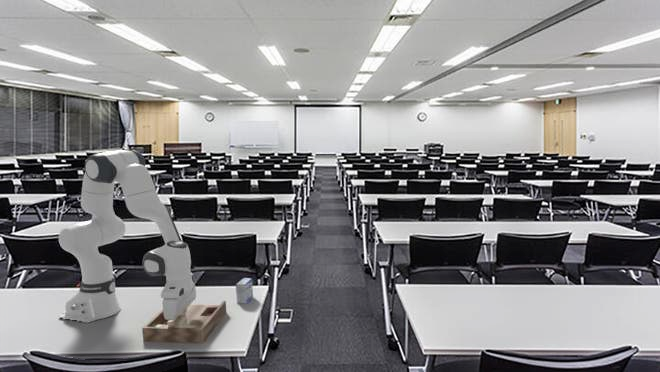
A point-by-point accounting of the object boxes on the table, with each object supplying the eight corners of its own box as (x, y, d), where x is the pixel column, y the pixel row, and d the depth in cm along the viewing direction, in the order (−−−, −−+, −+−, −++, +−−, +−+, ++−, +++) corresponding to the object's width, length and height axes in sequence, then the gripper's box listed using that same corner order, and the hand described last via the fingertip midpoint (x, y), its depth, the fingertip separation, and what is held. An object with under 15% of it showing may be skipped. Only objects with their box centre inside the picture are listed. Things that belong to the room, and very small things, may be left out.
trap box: (143, 341, 156) (142, 327, 156) (174, 311, 181) (173, 299, 180) (202, 343, 154) (202, 329, 153) (226, 312, 179) (225, 300, 178)
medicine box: (246, 304, 187) (245, 284, 186) (236, 303, 188) (235, 284, 187) (253, 296, 195) (252, 278, 193) (243, 296, 195) (242, 277, 194)
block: (168, 332, 156) (167, 322, 155) (174, 326, 161) (173, 315, 160) (181, 332, 156) (181, 322, 155) (187, 326, 161) (186, 316, 160)
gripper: (183, 275, 171) (185, 308, 173) (158, 295, 151) (161, 333, 153) (199, 275, 171) (201, 309, 173) (175, 295, 151) (178, 333, 152)
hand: (182, 320), depth 163 cm, fingers closed
